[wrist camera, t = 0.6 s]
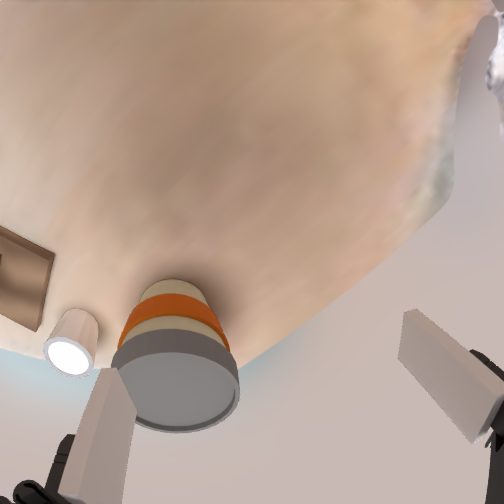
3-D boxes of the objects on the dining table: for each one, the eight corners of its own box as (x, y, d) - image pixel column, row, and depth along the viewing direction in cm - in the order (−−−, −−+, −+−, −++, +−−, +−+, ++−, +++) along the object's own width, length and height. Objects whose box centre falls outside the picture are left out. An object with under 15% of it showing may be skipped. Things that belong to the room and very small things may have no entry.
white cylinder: (52, 328, 35) (37, 360, 29) (68, 295, 34) (51, 327, 28) (92, 351, 38) (83, 386, 32) (111, 321, 37) (102, 356, 31)
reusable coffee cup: (227, 269, 37) (254, 351, 24) (215, 347, 42) (233, 433, 29) (125, 261, 34) (98, 343, 21) (128, 343, 39) (116, 430, 25)
